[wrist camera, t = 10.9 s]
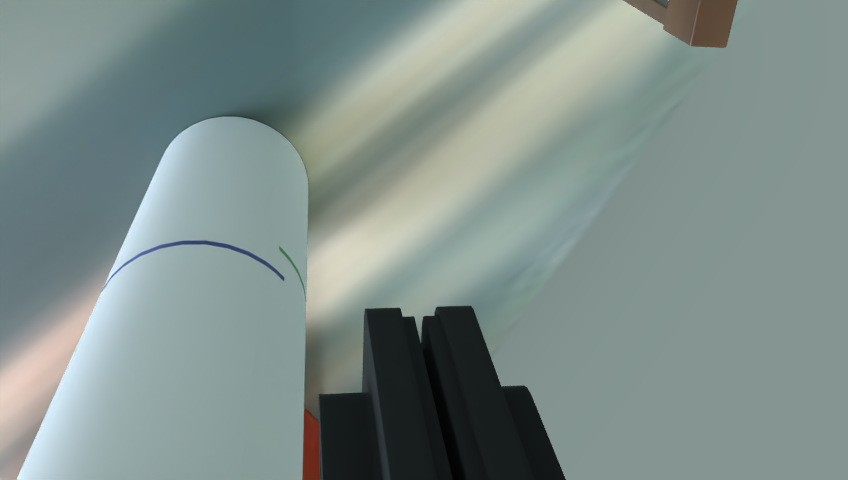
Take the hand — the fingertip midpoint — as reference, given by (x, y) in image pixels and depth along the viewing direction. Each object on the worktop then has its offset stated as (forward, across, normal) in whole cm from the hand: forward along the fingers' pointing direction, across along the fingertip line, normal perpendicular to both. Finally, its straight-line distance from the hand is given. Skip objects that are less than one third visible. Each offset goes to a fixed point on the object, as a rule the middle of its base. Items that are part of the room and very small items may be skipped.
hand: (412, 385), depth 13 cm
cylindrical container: (+27, +5, +8) cm, 29 cm away
